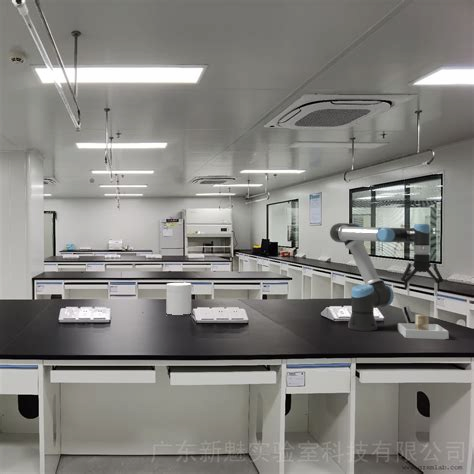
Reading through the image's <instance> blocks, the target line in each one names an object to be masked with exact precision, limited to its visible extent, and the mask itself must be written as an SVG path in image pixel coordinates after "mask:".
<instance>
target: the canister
mask: <svg viewBox="0 0 474 474" xmlns="http://www.w3.org/2000/svg"><path fill="white" fill-rule="evenodd" d="M165 296H166V298H165V299H166V305H165V306H166V309H165V310H166V311H165V312H166V313H167V314H172V315H183V314H190V313H191V314H192V283H190V282H171V283H170V282H169V283H166V295H165Z"/></svg>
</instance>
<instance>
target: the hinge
mask: <svg viewBox="0 0 474 474" xmlns="http://www.w3.org/2000/svg"><path fill="white" fill-rule="evenodd" d="M401 311H402V313H403V316H404V317H403V318H404V319H405V322H406V323H413V322H414V324H416V315H414V314H412V310H411V308H410V306H409V305H406V306H402V307H401Z"/></svg>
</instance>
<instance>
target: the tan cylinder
mask: <svg viewBox="0 0 474 474" xmlns="http://www.w3.org/2000/svg"><path fill="white" fill-rule="evenodd" d="M415 319H416V330H428V324H429V315H427V314H421V313H420V314H419V313H418V314H415Z"/></svg>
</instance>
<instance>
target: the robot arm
mask: <svg viewBox="0 0 474 474" xmlns="http://www.w3.org/2000/svg"><path fill="white" fill-rule="evenodd" d="M329 235H330V238H331V239H332V240H333V241H334V242H336V243H343V244H344V246H345V248H346V249H348V250H349V251H350V253H351V255H352V257H353V260H354V262H355V264H356V267H357V268H358V271H359V273H360V275H361V278H362V280H363V282H364V284H359V285H355V286H353V287H352V288H351V292H350V293H351V294H350V296H351V315H350V317H349V321H348V323H347V325H348V329H350V330H353V331H354V330H355V331H360V332H366V331H367V332H368V331H369V332H370V331H371V332H372V331H376V330H377V329H378V325H377V324H378V323H377V321H376V318H375V316H374V314H375V313H374V309H377V308H385V307H388V306H390V305H391V304H392V303H393V301H394V298H395V295H394V291H393V288H392V287H390V286H388V285H386V283H385V281H384V279H381V278H380V276H379V274H378V272H377V270H376V268H375V266H374V264H373V261H372V259H371V257H370V255H369V253H368V251H367V248H366V246H365V244H364V243H365V242H379V243H381V242H382V243H413V253H414V255H413V263H411V262H410V263H409V262H407V264H406V265H407V266H406V269H405V270H404V272H403V274H402V276H401V278H400V281H401V282H403V283H404V284H403V285H404V287H403V288H404V289H406V293H405V294H406V296H410V280H411V279H412V278H413V277H414V276H415V274H416V273H427V274H429V276H430V277H431V278H432V279H433V280H434V283H433V288H434V290H433V293H434V294H433V296H435V297H438V290H440V284H441V283H442V282H444V279H443V277H442V275H441V273H440V271H439V268H438V266H437V265H438V264H437V263H431V255H430V251H431V250H430V249H431V247H430V246H431V243H430V242H431V241H430V240H431V229H430V225H429V224H428V223H414V225H413V227H387V226H385V227H377V226H376V227H374V226H373V227H372V226H362V225H360V224H359V223H354V222H353V223H352V222H351V223H347V222H343V223H342V222H340V223H335V224H333V225H332V226H331V228H330V229H329ZM412 268H414V269H413V270H412V271H411V272H410V270H411V269H412ZM431 268H432V269H433V271H434V272H435V274H434V273H433V272H432V271H431ZM409 272H410V273H409ZM408 274H409V275H408Z"/></svg>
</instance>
